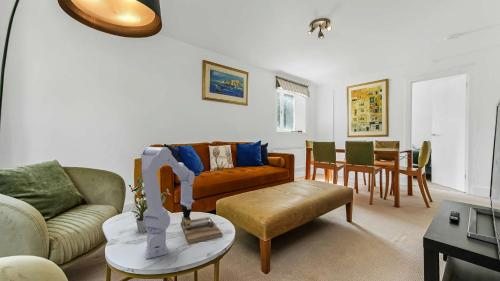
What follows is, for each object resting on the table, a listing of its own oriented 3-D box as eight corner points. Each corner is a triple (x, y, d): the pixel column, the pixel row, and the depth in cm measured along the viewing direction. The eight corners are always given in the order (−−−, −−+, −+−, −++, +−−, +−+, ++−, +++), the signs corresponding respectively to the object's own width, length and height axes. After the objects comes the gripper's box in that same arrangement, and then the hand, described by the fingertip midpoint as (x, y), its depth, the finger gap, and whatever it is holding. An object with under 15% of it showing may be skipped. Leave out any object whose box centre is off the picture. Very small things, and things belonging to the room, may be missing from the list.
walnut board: (221, 236, 98) (221, 226, 98) (188, 244, 91) (188, 233, 90) (209, 220, 117) (209, 212, 117) (180, 225, 110) (180, 216, 110)
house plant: (149, 238, 95) (149, 204, 95) (121, 237, 96) (121, 203, 95) (163, 225, 110) (163, 195, 109) (138, 224, 110) (138, 195, 110)
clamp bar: (212, 223, 105) (212, 220, 105) (186, 228, 99) (186, 225, 99) (210, 221, 108) (210, 218, 108) (185, 226, 102) (185, 222, 102)
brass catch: (191, 223, 100) (191, 219, 100) (186, 224, 99) (186, 220, 99) (189, 220, 105) (189, 216, 105) (184, 221, 104) (184, 217, 104)
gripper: (197, 195, 101) (197, 222, 101) (191, 189, 114) (191, 212, 114) (182, 197, 98) (182, 225, 98) (178, 190, 110) (178, 214, 111)
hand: (186, 218), depth 106 cm, fingers closed
